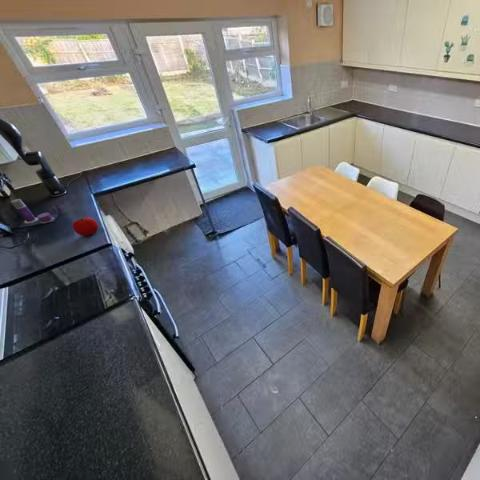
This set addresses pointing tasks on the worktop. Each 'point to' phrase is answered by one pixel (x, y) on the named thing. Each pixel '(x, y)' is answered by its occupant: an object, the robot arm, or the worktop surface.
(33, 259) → the worktop surface
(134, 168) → the worktop surface
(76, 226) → the tomato
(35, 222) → the mat
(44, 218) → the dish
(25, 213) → the container
